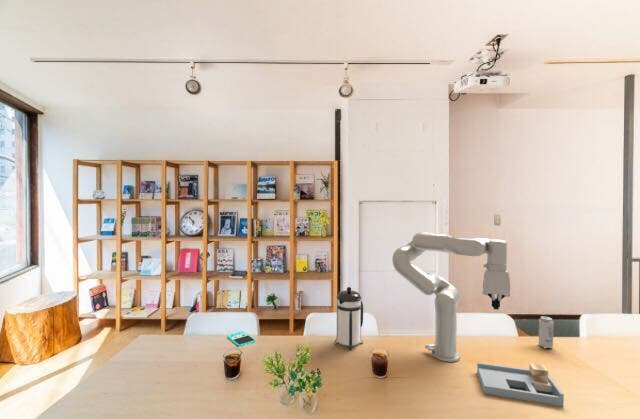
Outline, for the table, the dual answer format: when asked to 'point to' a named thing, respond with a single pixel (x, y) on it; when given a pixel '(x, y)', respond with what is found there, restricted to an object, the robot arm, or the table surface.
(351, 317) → the coffee press
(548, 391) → the board
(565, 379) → the table surface
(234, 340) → the handheld game console
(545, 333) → the energy drink can
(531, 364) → the maple cube
